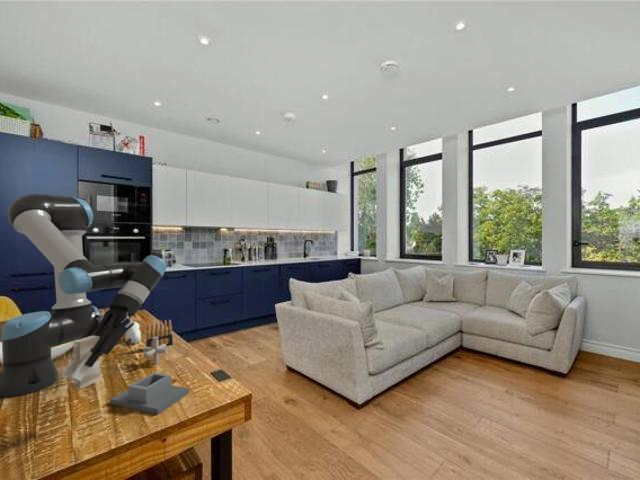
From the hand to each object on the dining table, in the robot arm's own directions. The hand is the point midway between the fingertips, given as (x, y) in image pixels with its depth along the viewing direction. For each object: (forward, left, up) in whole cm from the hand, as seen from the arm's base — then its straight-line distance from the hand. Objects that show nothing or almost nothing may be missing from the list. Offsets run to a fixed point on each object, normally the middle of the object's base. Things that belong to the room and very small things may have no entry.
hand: (71, 377), depth 77 cm
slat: (+2, +4, -3) cm, 5 cm away
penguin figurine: (-16, +68, -14) cm, 71 cm away
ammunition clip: (-1, +58, -14) cm, 59 cm away
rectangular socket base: (+13, +14, -14) cm, 23 cm away
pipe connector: (+4, +41, -14) cm, 43 cm away
